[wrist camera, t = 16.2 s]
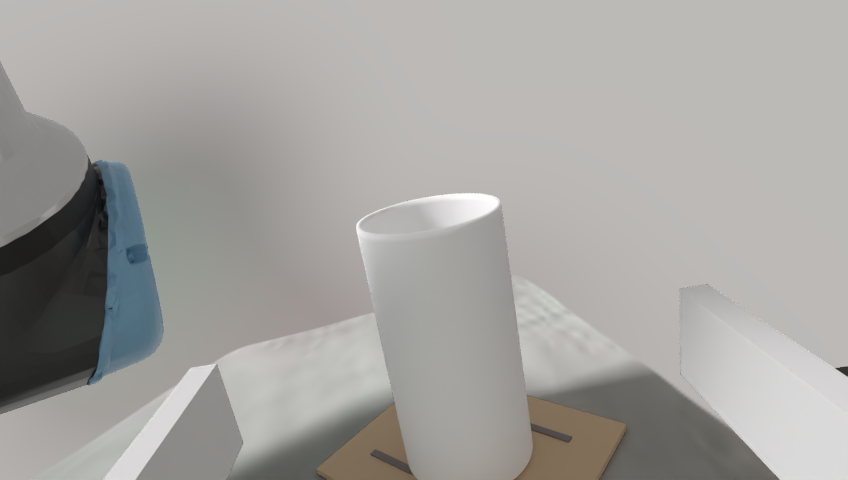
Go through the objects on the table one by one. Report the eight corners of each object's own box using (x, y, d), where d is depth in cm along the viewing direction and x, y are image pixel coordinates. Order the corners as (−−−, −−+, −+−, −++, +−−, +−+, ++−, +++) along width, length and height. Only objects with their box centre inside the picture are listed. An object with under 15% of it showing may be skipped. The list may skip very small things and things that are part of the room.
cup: (500, 515, 26) (455, 236, 22) (382, 472, 31) (324, 234, 27) (551, 421, 33) (523, 190, 28) (446, 397, 37) (409, 195, 33)
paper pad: (317, 473, 33) (315, 467, 33) (434, 372, 42) (433, 367, 42) (534, 599, 22) (533, 591, 22) (626, 429, 32) (626, 422, 32)
